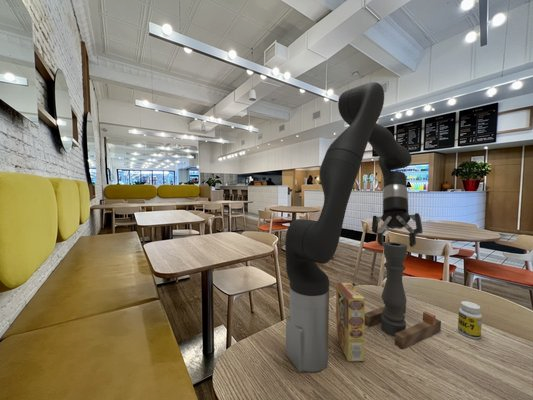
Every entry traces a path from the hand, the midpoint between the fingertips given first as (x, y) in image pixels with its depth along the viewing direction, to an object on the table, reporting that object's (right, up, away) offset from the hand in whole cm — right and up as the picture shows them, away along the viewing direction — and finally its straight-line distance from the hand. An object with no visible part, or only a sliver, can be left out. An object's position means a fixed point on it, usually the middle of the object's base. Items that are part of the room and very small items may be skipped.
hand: (396, 245), depth 70 cm
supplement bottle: (+15, -23, -9) cm, 29 cm away
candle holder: (-5, -23, -7) cm, 25 cm away
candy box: (-21, -23, -14) cm, 34 cm away
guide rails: (-2, -23, -6) cm, 23 cm away
